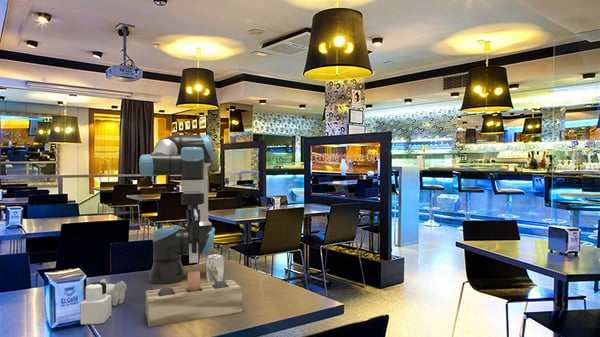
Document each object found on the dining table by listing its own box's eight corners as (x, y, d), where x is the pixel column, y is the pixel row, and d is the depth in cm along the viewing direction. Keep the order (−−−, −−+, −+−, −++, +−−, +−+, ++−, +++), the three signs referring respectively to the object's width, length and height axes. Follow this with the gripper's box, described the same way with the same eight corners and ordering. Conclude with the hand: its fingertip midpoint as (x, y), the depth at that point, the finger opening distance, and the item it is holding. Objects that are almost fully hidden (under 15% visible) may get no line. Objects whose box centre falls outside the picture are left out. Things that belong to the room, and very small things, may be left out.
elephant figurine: (86, 308, 144) (86, 283, 144) (113, 298, 155) (113, 275, 155) (106, 311, 141) (106, 286, 141) (132, 301, 152) (132, 277, 152)
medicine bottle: (89, 316, 136) (89, 280, 136) (111, 315, 137) (111, 280, 137) (80, 324, 129) (79, 287, 129) (103, 323, 129) (102, 286, 129)
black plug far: (213, 304, 143) (213, 281, 143) (224, 302, 144) (224, 280, 144) (216, 307, 139) (215, 284, 139) (227, 305, 141) (227, 283, 141)
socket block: (145, 314, 137) (145, 290, 137) (232, 301, 150) (232, 279, 150) (148, 327, 126) (148, 301, 126) (242, 311, 139) (241, 288, 139)
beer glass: (220, 298, 154) (219, 258, 154) (202, 297, 155) (202, 257, 155) (227, 292, 161) (226, 254, 161) (210, 291, 162) (209, 254, 162)
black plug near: (159, 312, 135) (159, 288, 135) (172, 310, 137) (171, 287, 137) (160, 316, 132) (160, 292, 132) (173, 314, 133) (173, 290, 133)
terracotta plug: (187, 294, 139) (186, 271, 139) (198, 292, 141) (198, 269, 141) (189, 297, 135) (188, 273, 135) (201, 295, 137) (200, 272, 137)
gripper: (178, 192, 142) (179, 259, 142) (184, 193, 130) (185, 267, 130) (200, 191, 145) (201, 257, 145) (207, 193, 134) (208, 264, 133)
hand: (193, 262), depth 138 cm, fingers closed
